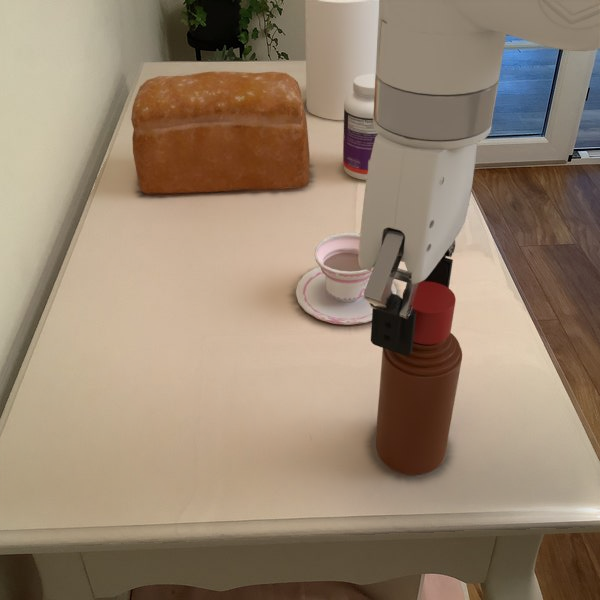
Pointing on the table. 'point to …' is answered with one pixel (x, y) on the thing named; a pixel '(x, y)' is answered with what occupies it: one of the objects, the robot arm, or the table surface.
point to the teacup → (337, 283)
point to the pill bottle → (359, 127)
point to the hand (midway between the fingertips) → (410, 319)
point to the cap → (433, 312)
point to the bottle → (417, 405)
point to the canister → (338, 51)
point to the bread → (220, 133)
